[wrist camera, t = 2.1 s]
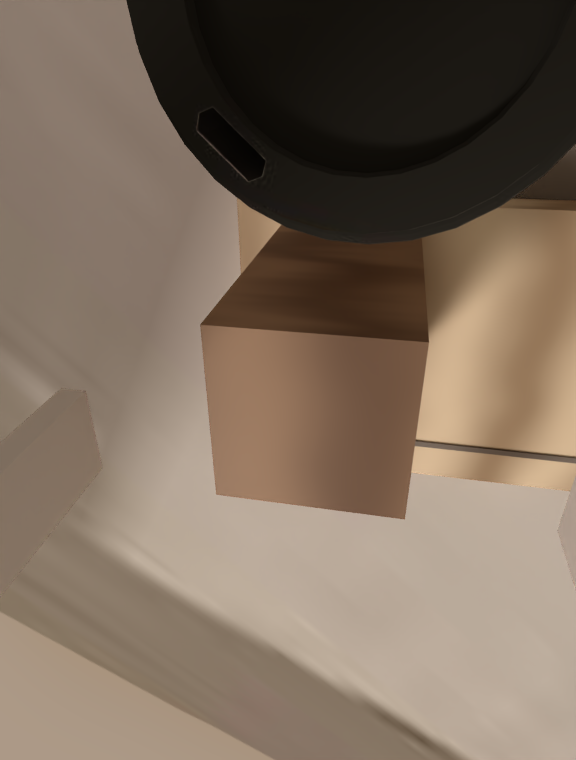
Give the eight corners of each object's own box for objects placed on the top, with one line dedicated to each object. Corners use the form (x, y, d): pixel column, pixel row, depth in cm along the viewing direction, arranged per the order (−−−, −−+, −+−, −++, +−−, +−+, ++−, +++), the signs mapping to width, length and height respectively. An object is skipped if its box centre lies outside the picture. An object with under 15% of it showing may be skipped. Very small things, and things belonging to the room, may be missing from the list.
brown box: (284, 443, 30) (227, 614, 21) (282, 223, 24) (200, 324, 15) (394, 455, 29) (387, 641, 20) (421, 229, 23) (429, 342, 14)
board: (258, 433, 32) (249, 454, 31) (248, 189, 25) (236, 199, 24) (746, 487, 28) (769, 515, 26) (896, 211, 21) (941, 224, 19)
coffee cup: (586, 12, 20) (899, -83, 7) (386, 207, 25) (362, 358, 12) (405, -227, 18) (393, -960, 5) (224, 36, 23) (-17, -1, 10)
